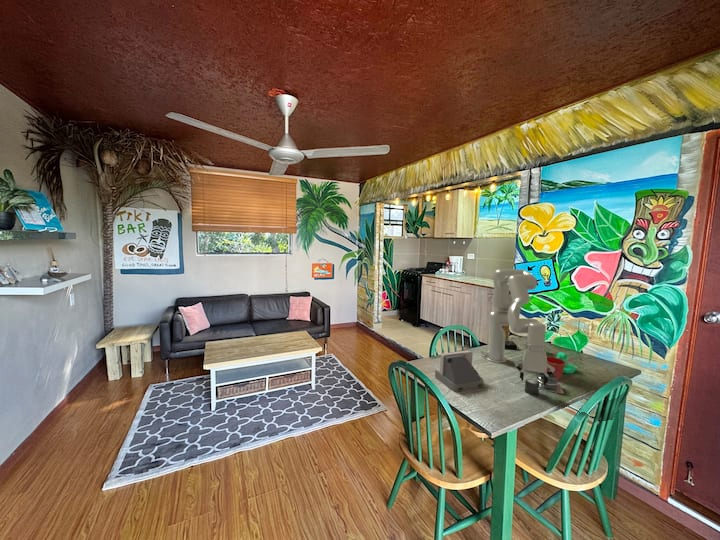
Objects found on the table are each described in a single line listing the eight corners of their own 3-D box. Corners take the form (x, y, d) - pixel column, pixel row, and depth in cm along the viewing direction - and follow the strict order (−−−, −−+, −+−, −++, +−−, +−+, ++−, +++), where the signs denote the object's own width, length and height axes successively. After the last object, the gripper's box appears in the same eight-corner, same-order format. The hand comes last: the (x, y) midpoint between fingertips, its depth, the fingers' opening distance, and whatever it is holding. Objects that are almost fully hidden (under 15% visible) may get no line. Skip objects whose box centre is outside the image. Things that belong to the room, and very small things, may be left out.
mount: (566, 375, 168) (567, 357, 167) (552, 370, 175) (553, 353, 174) (577, 371, 174) (579, 354, 173) (564, 366, 180) (565, 350, 180)
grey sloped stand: (466, 372, 169) (468, 346, 168) (488, 389, 149) (490, 361, 148) (431, 374, 166) (433, 348, 164) (449, 392, 145) (450, 363, 144)
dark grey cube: (525, 393, 146) (526, 383, 145) (524, 388, 151) (524, 378, 151) (539, 396, 143) (540, 385, 143) (537, 391, 149) (538, 380, 148)
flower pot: (569, 380, 161) (570, 363, 160) (551, 381, 159) (552, 364, 159) (553, 372, 172) (554, 356, 171) (536, 373, 170) (538, 356, 169)
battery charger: (512, 346, 215) (513, 341, 215) (517, 351, 206) (517, 345, 205) (493, 345, 218) (494, 339, 217) (497, 349, 208) (497, 344, 208)
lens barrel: (533, 388, 152) (534, 376, 151) (531, 379, 162) (531, 368, 161) (563, 394, 146) (564, 381, 146) (559, 384, 156) (560, 372, 156)
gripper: (516, 347, 145) (514, 381, 146) (557, 353, 138) (555, 388, 139) (515, 343, 152) (513, 375, 153) (554, 348, 145) (552, 382, 146)
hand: (533, 381), depth 146 cm, fingers open, 9 cm apart
